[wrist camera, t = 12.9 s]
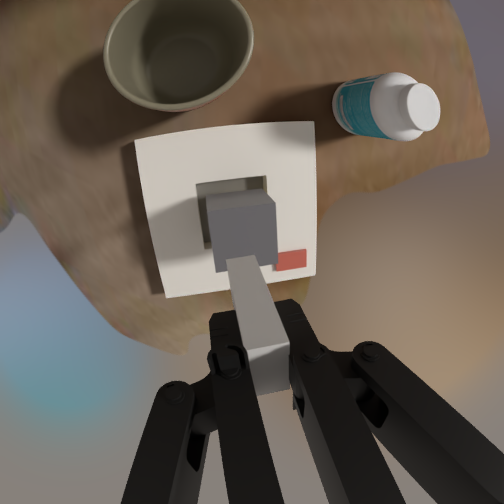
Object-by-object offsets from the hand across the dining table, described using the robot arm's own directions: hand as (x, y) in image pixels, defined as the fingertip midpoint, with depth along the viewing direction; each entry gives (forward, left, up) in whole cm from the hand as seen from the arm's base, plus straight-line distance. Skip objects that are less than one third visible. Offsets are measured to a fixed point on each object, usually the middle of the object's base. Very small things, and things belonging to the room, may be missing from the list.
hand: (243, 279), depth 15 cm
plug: (+2, +1, -21) cm, 21 cm away
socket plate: (+2, +1, -21) cm, 21 cm away
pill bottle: (-10, +18, -21) cm, 30 cm away
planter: (-16, -3, -21) cm, 27 cm away
